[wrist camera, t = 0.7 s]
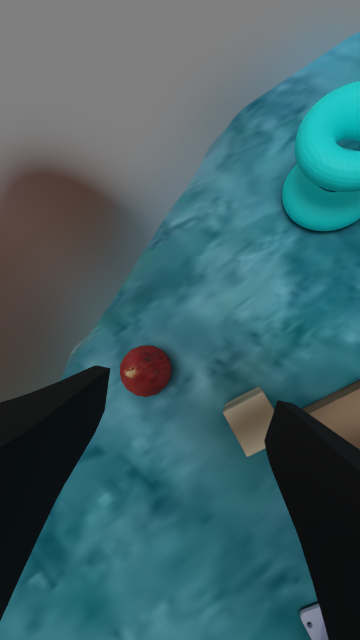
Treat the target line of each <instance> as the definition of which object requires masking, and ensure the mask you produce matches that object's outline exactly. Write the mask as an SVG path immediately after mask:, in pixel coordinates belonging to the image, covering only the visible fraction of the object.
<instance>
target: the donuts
mask: <svg viewBox="0 0 360 640" xmlns="http://www.w3.org/2000/svg"><path fill="white" fill-rule="evenodd" d="M345 139H353V140H357V141H359V142H360V81H357V82H353V83H350V84H347V85H344V86H342V87H340V88H338V89H336V90H334V91H332V92H330V93H328V94H327V95H325V96H324V97H323V98H321V99H320V100H319V101H318V102H317V103H316V104H315V105H314V106H313V107H312V108H311V109H310V110H309V112H308V113H307V114H306V116H305V117H304V119H303V121H302V123H301V124H300V127H299V129H298V132H297V135H296V139H295V157H296V160H297V164H296V165H295V166H294V167H293V169H292V170H291V171H290V173H289V174H288V176H287V178H286V180H285V183H284V186H283V191H282V200H283V205H284V208H285V210H286V212H287V214H288V215H289V217H290V218H291V219H292V220H293V221H294V222H296V223H297V224H299V225H300V226H302V227H304V228H307V229H310V230H315V231H332V230H337V229H341V228H344V227H346V226H348V225H350V224H352V223H354V222H356V221H357V220H359V219H360V151H355V150H353V149H349V148H341V147H340V146H338V145H337V144H336V143H337V142H339V141H341V140H345ZM319 186H320V187H322V188H325V189H328V190H332V191H337V192H327V191H325V190H323V189H321V188H320V187H319Z"/></svg>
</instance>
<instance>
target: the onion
mask: <svg viewBox="0 0 360 640" xmlns="http://www.w3.org/2000/svg"><path fill="white" fill-rule="evenodd" d="M171 370H172V368H171V364H170V359H169V358H168V356H167V355H166V354H165V353H164V351H162V350H161V349H159V348H157V347H155V346H139V347H137V348H134V349H132V350H131V351H130V352H129V353H128V354H127V355H126V356H125V357H124V359H123V361H122V363H121V365H120V376H121V380H122V383H123V384H124V386H125V387H126V388H127V390H129V391H130V392H132V393H134V394H135V395H137V396H144V397H148V396H152V395H155V394H158V393H159V392H160V391H161V390H162V389H163V388H164V387H165V386H166V385H167V383H168V381H169V380H170V376H171Z"/></svg>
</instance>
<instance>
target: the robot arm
mask: <svg viewBox="0 0 360 640" xmlns="http://www.w3.org/2000/svg"><path fill="white" fill-rule="evenodd" d="M109 374H110V368H106V367H101V366H93V367H91V368H88V369H86V370H84V371H82V372H79V373H77V374H75V375H73V376H71V377H68V378H66V379H64V380H62V381H59V382H57V383H55V384H52V385H50V386H47V387H44V388H42V389H39V390H37V391H34V392H32V393H29V394H26V395H23V396H20V397H17V398H14V399H11V400H7V401H4V402H1V403H0V620H1V618H2V616H3V614H4V611H5V609H6V607H7V605H8V602H9V600H10V598H11V596H12V593H13V591H14V589H15V587H16V585H17V582H18V580H19V578H20V576H21V573H22V571H23V569H24V567H25V565H26V563H27V560H28V558H29V556H30V554H31V552H32V550H33V547H34V545H35V543H36V541H37V539H38V537H39V534H40V532H41V530H42V528H43V526H44V524H45V522H46V520H47V518H48V516H49V514H50V511H51V509H52V507H53V505H54V503H55V501H56V499H57V497H58V495H59V494H60V492H61V490H62V488H63V486H64V484H65V483H66V481H67V479H68V478H69V476H70V474H71V473H72V471H73V469H74V467H75V466H76V464H77V462H78V461H79V459H80V457H81V456H82V454H83V452H84V451H85V449H86V447H87V445H88V444H89V442H90V440H91V439H92V437H93V435H94V433H95V431H96V429H97V427H98V425H99V422H100V420H101V418H102V415H103V413H104V410H105V403H106V396H107V388H108V381H109ZM264 442H265V447H266V451H267V455H268V459H269V462H270V466H271V468H272V471H273V474H274V476H275V479H276V481H277V484H278V486H279V489H280V491H281V494H282V496H283V499H284V501H285V504H286V506H287V509H288V511H289V514H290V516H291V519H292V521H293V524H294V526H295V529H296V531H297V534H298V537H299V540H300V542H301V546H302V549H303V552H304V555H305V559H306V562H307V565H308V568H309V572H310V575H311V578H312V581H313V585H314V589H315V592H316V596H317V599H318V604H316V605H313V606H310V607H308V608H305V609H303V610H301V612H300V617H301V620H302V622H303V624H304V626H305V628H306V630H307V632H308V634H309V636H310V638H311V639H312V640H360V449H358V448H357V447H355V446H354V445H352V444H351V443H349V442H348V441H347V440H345V439H344V438H342V437H341V436H339V435H338V434H337V433H335V432H334V431H332V430H331V429H330V428H328V427H327V426H325V425H324V424H323V423H321V422H320V421H318V420H317V419H315V418H314V417H313V416H311V415H310V414H308V413H307V412H305V411H304V410H302V409H301V408H299V407H298V406H296V405H294V404H292V403H288V402H283V401H277V404H276V407H275V410H274V413H273V416H272V419H271V422H270V424H269V427H268V430H267V433H266V436H265V439H264ZM307 622H311V624H308V623H307Z"/></svg>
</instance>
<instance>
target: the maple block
mask: <svg viewBox="0 0 360 640" xmlns="http://www.w3.org/2000/svg"><path fill="white" fill-rule="evenodd" d="M273 413H274V409H273V407H272V406H271V404H270V402H269V401H268V399H267V397H266V396H265V394H264V392H263V391H262V389H261V388H260V387H259V386H258V387H256V388H254V389H252V390H250V391H248V392H246V393H244V394H243V395H241V396H239V397H237V398H235V399H233V400H231V401H229V402H228V403H226V404H225V407H224V411H223V414H224V416H225V418H226V419H227V421H228V423H229V425H230V427H231V429H232V430H233V432H234V434H235V436H236V438H237V439H238V441H239V443H240V445H241V447H242V449H243V450H244V452H245V454H246V456H247V457H248V456H250V455H252V454H255V453H257V452H259V451H261V450H263V449H265V448H266V447H265V442H264V439H265V436H266V433H267V430H268V427H269V424H270V422H271V419H272V416H273Z"/></svg>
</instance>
